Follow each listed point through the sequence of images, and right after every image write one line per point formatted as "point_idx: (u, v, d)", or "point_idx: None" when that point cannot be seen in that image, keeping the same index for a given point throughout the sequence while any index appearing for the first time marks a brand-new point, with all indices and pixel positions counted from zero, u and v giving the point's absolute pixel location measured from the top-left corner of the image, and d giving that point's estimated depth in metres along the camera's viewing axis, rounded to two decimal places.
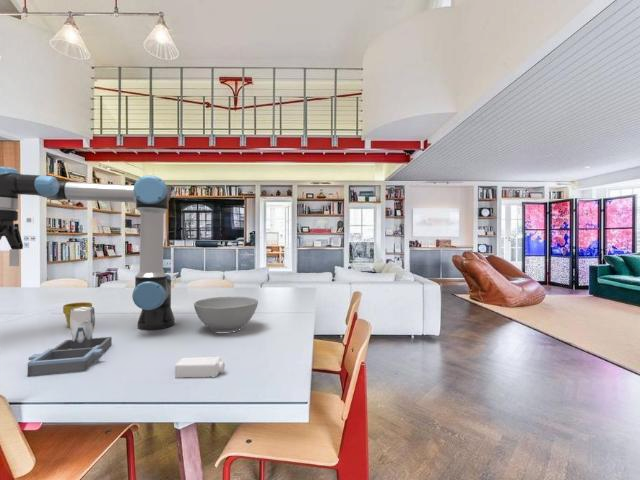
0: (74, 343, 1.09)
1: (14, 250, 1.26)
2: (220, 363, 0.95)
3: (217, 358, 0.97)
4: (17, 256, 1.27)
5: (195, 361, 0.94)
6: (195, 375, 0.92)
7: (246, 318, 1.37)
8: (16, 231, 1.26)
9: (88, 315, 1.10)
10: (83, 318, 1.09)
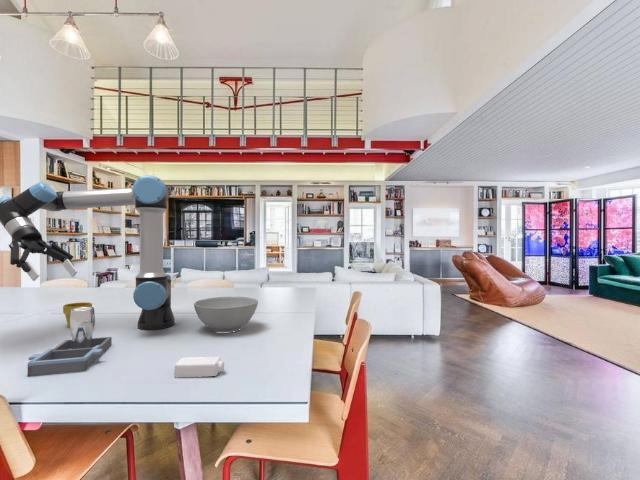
0: (74, 343, 1.09)
1: (65, 262, 1.22)
2: (220, 363, 0.95)
3: (216, 358, 0.97)
4: (70, 264, 1.22)
5: (195, 361, 0.94)
6: (195, 375, 0.92)
7: (246, 318, 1.37)
8: (54, 246, 1.23)
9: (88, 315, 1.10)
10: (83, 318, 1.09)
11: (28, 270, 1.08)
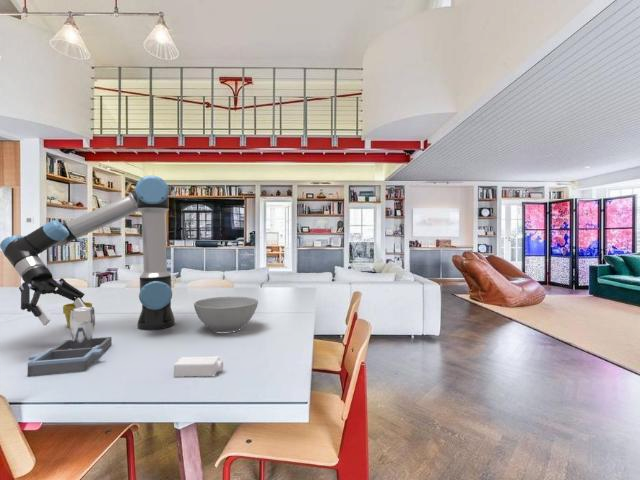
0: (74, 343, 1.09)
1: (76, 300, 1.19)
2: (219, 362, 0.95)
3: (216, 357, 0.97)
4: (81, 303, 1.19)
5: (194, 361, 0.95)
6: (194, 374, 0.93)
7: (246, 318, 1.37)
8: (65, 284, 1.20)
9: (88, 315, 1.10)
10: (83, 318, 1.09)
11: (39, 315, 1.05)
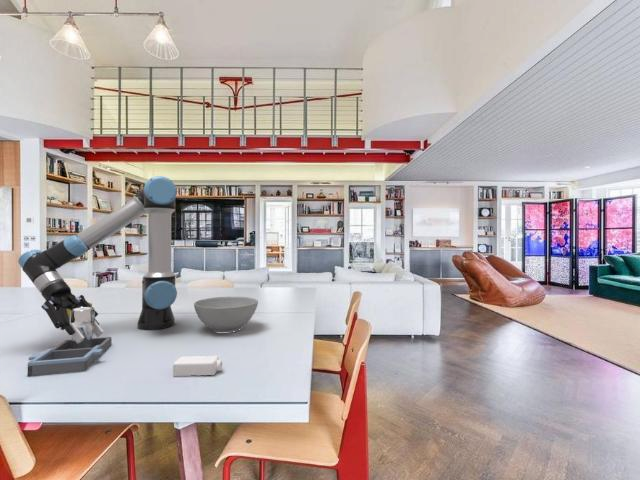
0: (74, 343, 1.09)
1: None
2: (218, 362, 0.96)
3: (215, 357, 0.98)
4: (95, 324, 1.15)
5: (193, 360, 0.95)
6: (193, 374, 0.93)
7: (246, 318, 1.37)
8: (82, 301, 1.18)
9: (88, 315, 1.10)
10: (83, 318, 1.09)
11: (73, 333, 1.07)
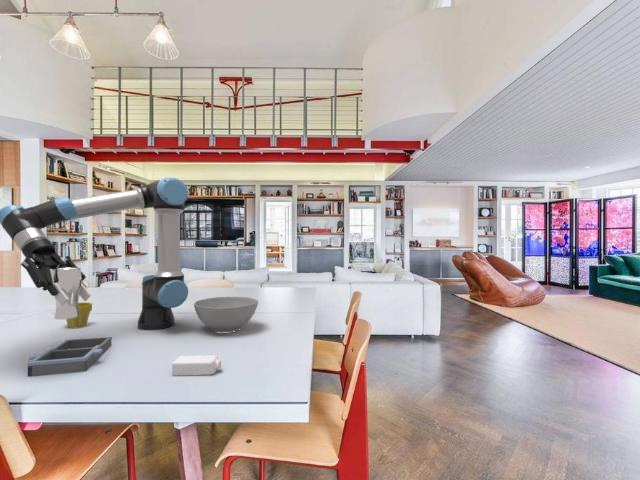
0: (58, 306, 0.98)
1: None
2: (217, 361, 0.96)
3: (214, 356, 0.98)
4: (82, 286, 1.03)
5: (192, 359, 0.96)
6: (192, 373, 0.94)
7: (246, 318, 1.37)
8: (68, 262, 1.07)
9: (73, 275, 0.99)
10: (68, 278, 0.98)
11: (56, 293, 0.96)
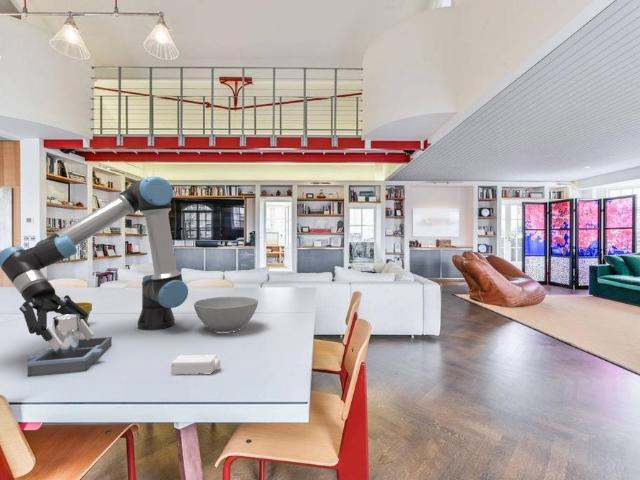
0: (57, 355, 0.98)
1: None
2: (216, 360, 0.97)
3: (213, 356, 0.99)
4: (85, 326, 1.05)
5: (191, 359, 0.96)
6: (191, 372, 0.94)
7: (246, 318, 1.37)
8: (69, 302, 1.07)
9: (72, 324, 0.99)
10: (67, 327, 0.98)
11: (50, 339, 0.94)
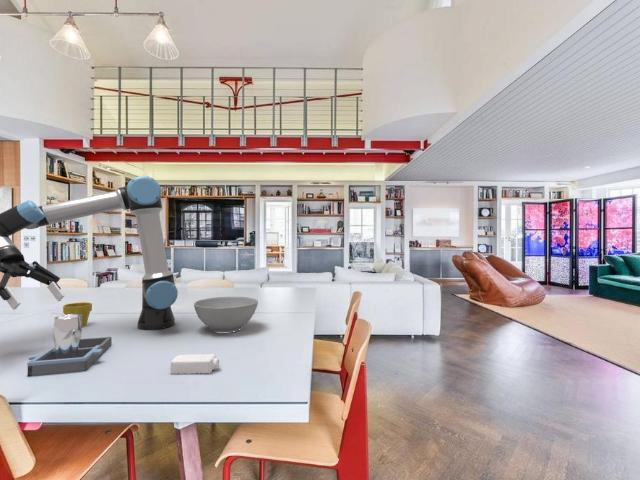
0: (58, 355, 0.98)
1: (50, 285, 1.11)
2: (215, 360, 0.97)
3: (212, 355, 0.99)
4: (56, 288, 1.11)
5: (190, 358, 0.97)
6: (190, 371, 0.95)
7: (246, 318, 1.37)
8: (38, 268, 1.12)
9: (74, 324, 0.99)
10: (68, 327, 0.98)
11: (8, 298, 0.97)
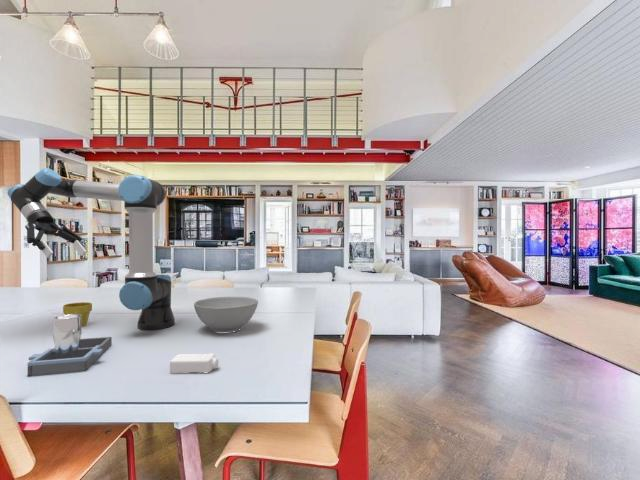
0: (58, 355, 0.98)
1: (74, 242, 1.35)
2: (214, 359, 0.98)
3: (211, 355, 1.00)
4: (79, 245, 1.35)
5: (190, 358, 0.97)
6: (189, 371, 0.95)
7: (246, 318, 1.37)
8: (65, 229, 1.36)
9: (73, 324, 0.99)
10: (68, 327, 0.98)
11: (43, 248, 1.21)
